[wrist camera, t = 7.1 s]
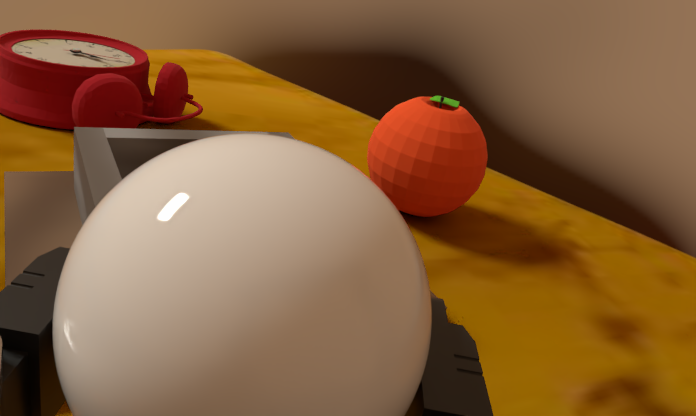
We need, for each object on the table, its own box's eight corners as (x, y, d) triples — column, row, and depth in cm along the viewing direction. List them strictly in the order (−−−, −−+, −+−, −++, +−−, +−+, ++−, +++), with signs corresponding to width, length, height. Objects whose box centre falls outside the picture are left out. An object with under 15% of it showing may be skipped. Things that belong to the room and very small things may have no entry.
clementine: (382, 171, 40) (407, 69, 37) (479, 203, 38) (514, 100, 35) (338, 210, 33) (364, 89, 30) (454, 252, 31) (494, 128, 28)
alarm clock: (64, 25, 45) (231, 28, 39) (78, 106, 47) (237, 120, 41) (-72, 35, 36) (120, 40, 30) (-47, 135, 38) (136, 157, 32)
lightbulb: (388, 667, 13) (569, 237, 8) (71, 832, 10) (75, 282, 5) (282, 445, 18) (358, 94, 13) (46, 506, 14) (38, 72, 10)
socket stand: (309, 184, 36) (320, 122, 34) (440, 326, 25) (467, 246, 23) (5, 191, 28) (1, 110, 26) (7, 402, 17) (0, 290, 15)
